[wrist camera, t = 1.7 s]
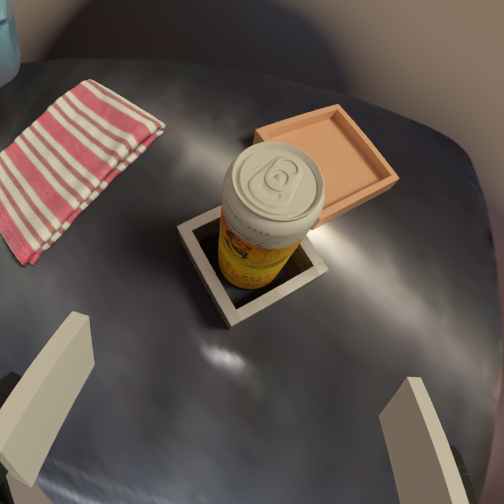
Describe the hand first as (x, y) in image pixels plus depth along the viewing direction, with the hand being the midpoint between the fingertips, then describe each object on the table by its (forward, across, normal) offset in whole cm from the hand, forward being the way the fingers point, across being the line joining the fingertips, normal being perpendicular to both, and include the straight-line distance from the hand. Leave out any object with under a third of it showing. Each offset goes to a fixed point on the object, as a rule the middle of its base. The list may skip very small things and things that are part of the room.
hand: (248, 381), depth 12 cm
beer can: (+20, 0, -5) cm, 21 cm away
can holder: (+20, 0, -5) cm, 20 cm away
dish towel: (+25, -25, 0) cm, 36 cm away
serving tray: (+29, +6, +5) cm, 31 cm away
